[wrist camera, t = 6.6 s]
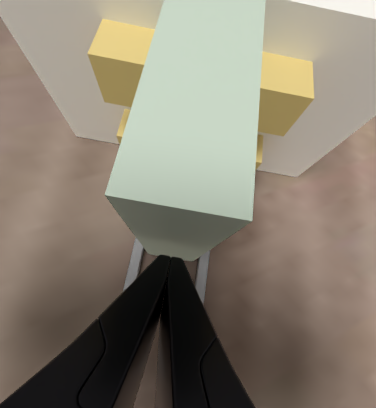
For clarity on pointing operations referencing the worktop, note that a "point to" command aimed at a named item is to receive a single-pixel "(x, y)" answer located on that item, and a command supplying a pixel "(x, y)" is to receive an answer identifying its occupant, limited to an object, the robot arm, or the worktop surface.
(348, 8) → the white l-shaped stand
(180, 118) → the door
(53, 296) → the worktop surface
